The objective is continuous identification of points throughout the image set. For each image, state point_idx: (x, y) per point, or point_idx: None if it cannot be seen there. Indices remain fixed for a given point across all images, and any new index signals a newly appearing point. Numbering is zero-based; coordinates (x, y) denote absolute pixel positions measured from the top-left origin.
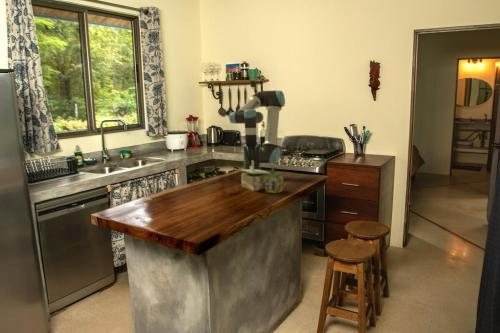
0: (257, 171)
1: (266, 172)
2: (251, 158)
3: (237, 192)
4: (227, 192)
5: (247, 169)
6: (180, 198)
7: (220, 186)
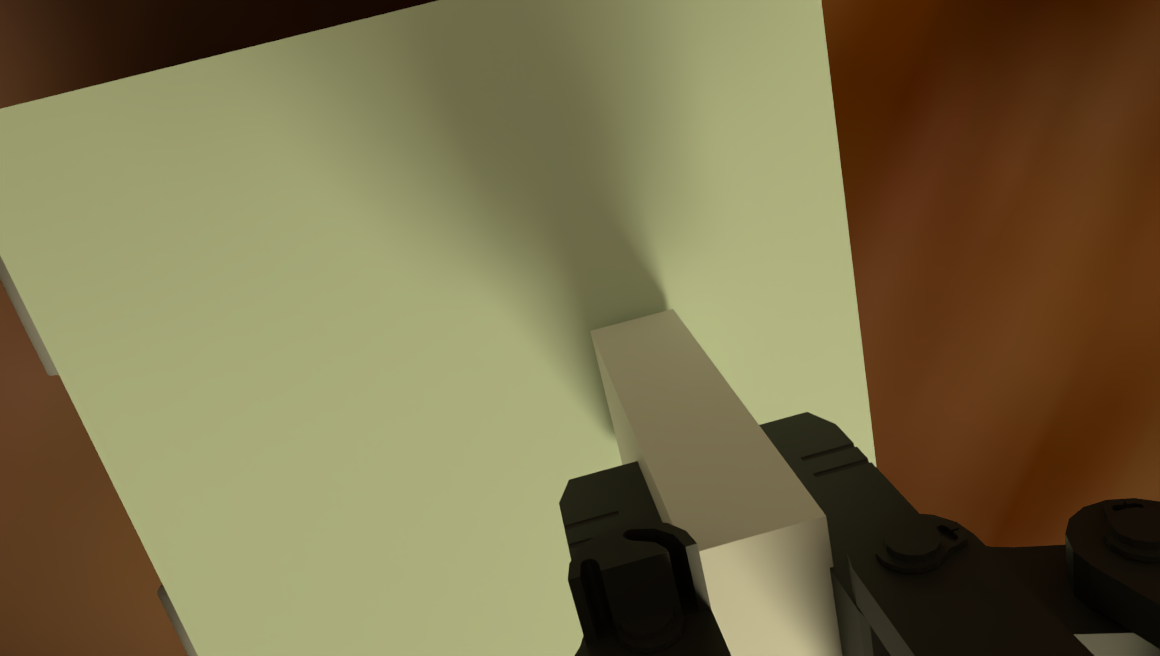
0: (459, 304)
1: (130, 130)
2: (933, 627)
3: (976, 32)
4: (1129, 128)
5: None
6: None
7: None
